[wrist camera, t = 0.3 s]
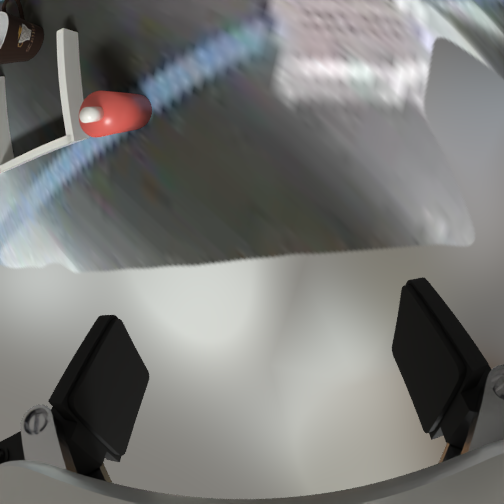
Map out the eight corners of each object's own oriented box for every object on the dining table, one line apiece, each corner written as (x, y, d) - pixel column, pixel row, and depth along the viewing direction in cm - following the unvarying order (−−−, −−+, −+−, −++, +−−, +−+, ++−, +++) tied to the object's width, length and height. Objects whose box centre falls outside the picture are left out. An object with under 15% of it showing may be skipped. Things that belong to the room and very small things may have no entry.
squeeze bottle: (116, 99, 33) (63, 99, 21) (149, 89, 32) (103, 83, 21) (121, 133, 35) (70, 145, 24) (154, 125, 34) (111, 132, 23)
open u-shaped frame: (0, 79, 28) (-15, 80, 25) (78, 32, 27) (63, 28, 24) (12, 168, 36) (-3, 174, 32) (89, 137, 35) (74, 141, 31)
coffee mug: (34, 72, 29) (-9, 71, 20) (8, 62, 27) (-32, 63, 18) (66, 7, 25) (27, -7, 16) (36, 2, 23) (-1, -8, 14)
